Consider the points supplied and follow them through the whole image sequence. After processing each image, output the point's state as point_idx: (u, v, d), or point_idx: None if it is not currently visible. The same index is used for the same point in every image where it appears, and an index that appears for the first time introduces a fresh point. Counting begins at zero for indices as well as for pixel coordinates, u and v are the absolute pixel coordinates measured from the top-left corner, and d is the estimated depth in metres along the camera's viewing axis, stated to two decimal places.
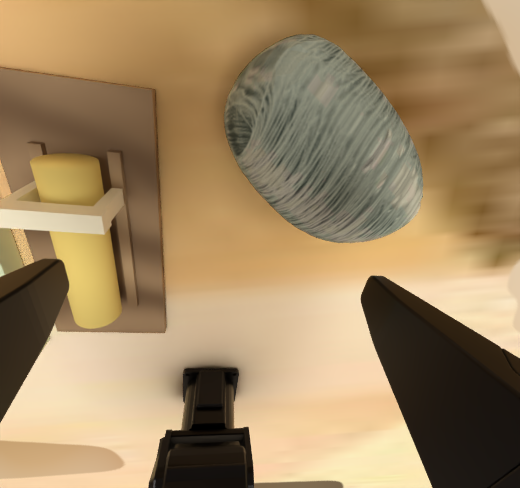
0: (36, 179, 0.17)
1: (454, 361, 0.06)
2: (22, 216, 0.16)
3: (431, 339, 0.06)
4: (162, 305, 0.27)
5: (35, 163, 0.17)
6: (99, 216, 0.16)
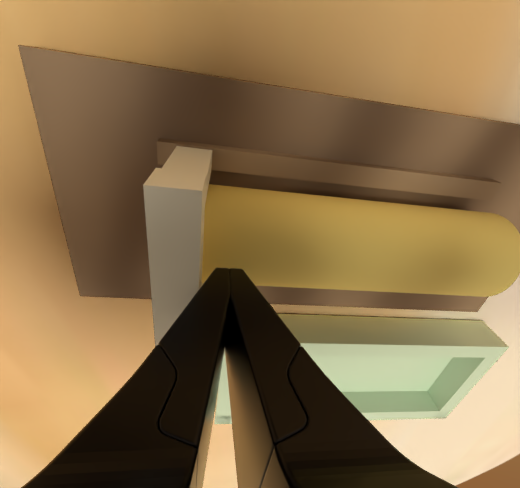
0: None
1: (244, 361, 0.05)
2: (167, 326, 0.08)
3: (238, 336, 0.06)
4: None
5: None
6: (145, 190, 0.06)
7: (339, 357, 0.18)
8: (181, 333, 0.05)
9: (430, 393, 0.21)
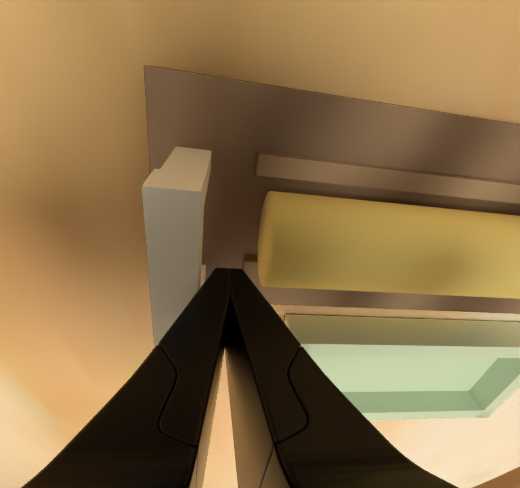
0: (287, 286, 0.10)
1: (244, 361, 0.05)
2: (166, 327, 0.08)
3: (238, 336, 0.06)
4: None
5: (263, 280, 0.11)
6: (143, 191, 0.06)
7: (390, 358, 0.19)
8: (181, 333, 0.05)
9: (472, 393, 0.22)
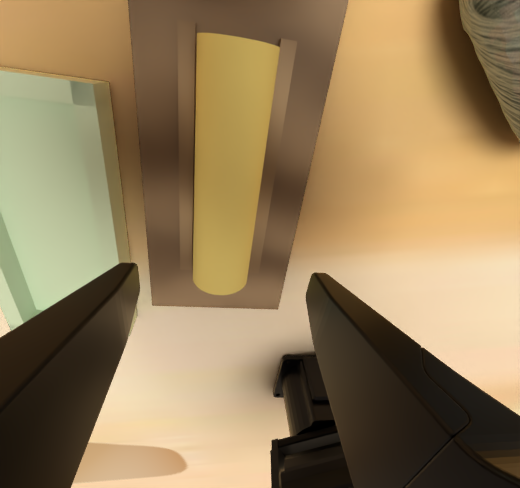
0: (209, 58, 0.11)
1: (371, 361, 0.06)
2: None
3: (354, 338, 0.06)
4: (284, 272, 0.22)
5: None
6: None
7: (69, 215, 0.18)
8: (28, 330, 0.05)
9: (35, 312, 0.21)
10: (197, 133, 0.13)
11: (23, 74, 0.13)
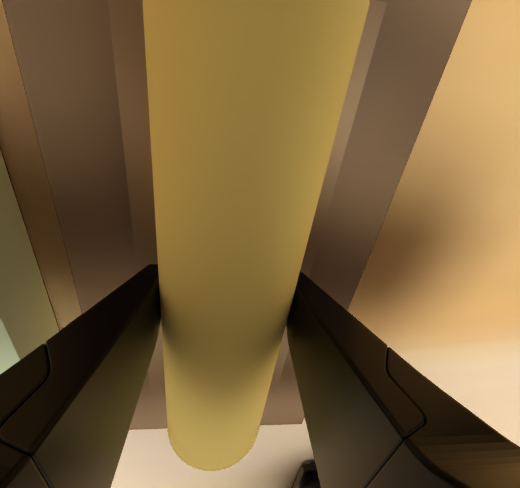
0: (172, 33, 0.04)
1: (335, 361, 0.05)
2: None
3: (321, 337, 0.06)
4: None
5: None
6: None
7: None
8: (75, 331, 0.05)
9: None
10: (157, 215, 0.06)
11: None
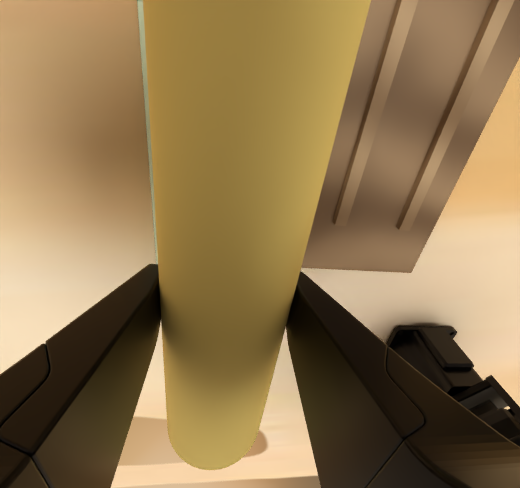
0: (172, 27, 0.04)
1: (335, 361, 0.05)
2: None
3: (321, 337, 0.06)
4: (430, 231, 0.21)
5: None
6: None
7: None
8: (75, 331, 0.05)
9: None
10: (157, 212, 0.06)
11: None
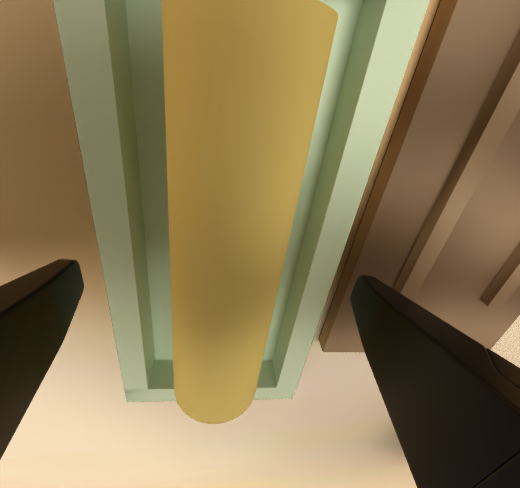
0: (185, 38, 0.05)
1: (438, 361, 0.06)
2: None
3: (416, 339, 0.06)
4: None
5: None
6: None
7: None
8: None
9: (156, 365, 0.14)
10: (169, 187, 0.07)
11: None
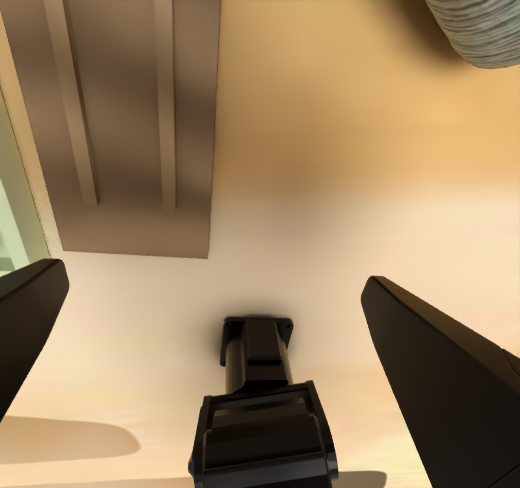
0: None
1: (454, 361, 0.06)
2: None
3: (431, 339, 0.06)
4: (208, 213, 0.19)
5: None
6: None
7: None
8: None
9: None
10: None
11: None
